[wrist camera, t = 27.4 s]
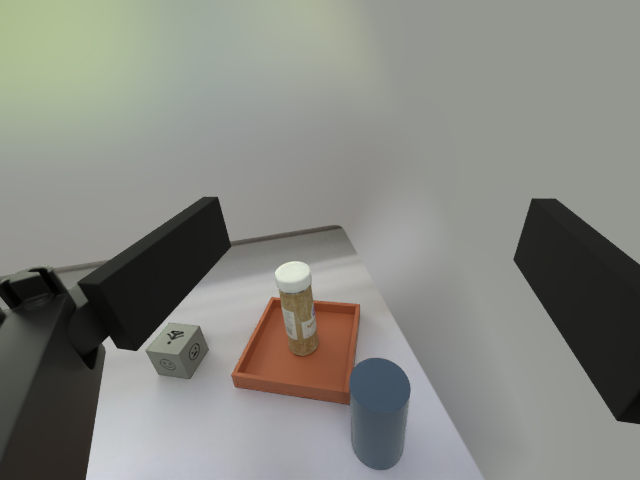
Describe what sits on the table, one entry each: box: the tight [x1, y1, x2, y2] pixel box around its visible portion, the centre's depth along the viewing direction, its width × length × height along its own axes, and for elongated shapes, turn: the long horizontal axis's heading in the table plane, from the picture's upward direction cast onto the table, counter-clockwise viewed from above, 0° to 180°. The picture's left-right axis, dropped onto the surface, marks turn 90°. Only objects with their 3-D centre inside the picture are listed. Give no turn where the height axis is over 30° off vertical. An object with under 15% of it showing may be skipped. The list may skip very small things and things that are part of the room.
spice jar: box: [275, 262, 319, 356], centre depth 39 cm, size 5×5×13 cm
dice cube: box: [145, 323, 209, 379], centre depth 41 cm, size 5×5×5 cm
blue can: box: [349, 358, 410, 470], centre depth 29 cm, size 6×6×10 cm
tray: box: [231, 297, 360, 405], centre depth 42 cm, size 15×15×2 cm
